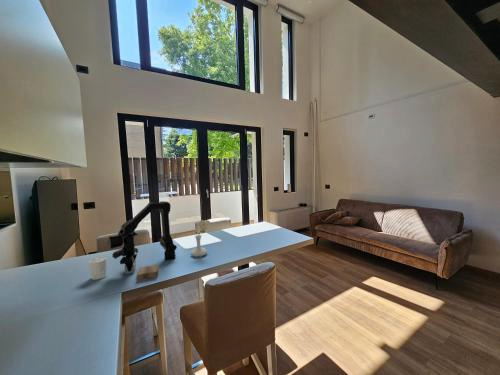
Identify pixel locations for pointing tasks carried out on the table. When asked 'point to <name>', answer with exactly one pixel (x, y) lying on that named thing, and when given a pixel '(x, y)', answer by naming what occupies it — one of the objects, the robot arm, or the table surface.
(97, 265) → the white cup
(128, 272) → the gray cube
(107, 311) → the table surface
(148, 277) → the tan block
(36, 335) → the table surface
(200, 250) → the flower in vase
